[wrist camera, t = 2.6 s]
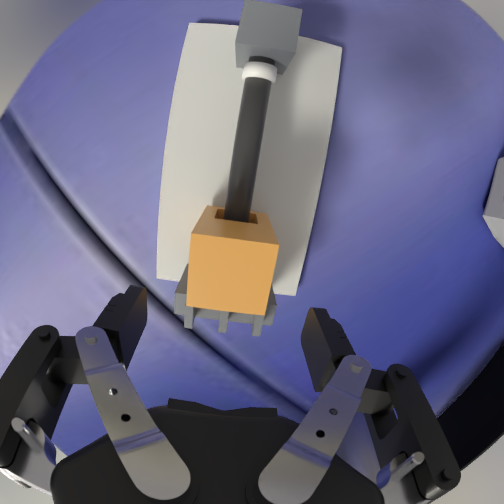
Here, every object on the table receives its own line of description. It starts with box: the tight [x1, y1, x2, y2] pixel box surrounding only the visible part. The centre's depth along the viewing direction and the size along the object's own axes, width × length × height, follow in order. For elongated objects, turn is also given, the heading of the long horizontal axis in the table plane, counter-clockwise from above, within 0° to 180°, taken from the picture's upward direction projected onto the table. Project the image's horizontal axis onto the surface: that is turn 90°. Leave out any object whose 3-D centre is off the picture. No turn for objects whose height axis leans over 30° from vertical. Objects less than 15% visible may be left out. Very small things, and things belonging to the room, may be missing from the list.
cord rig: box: [157, 0, 342, 336], centre depth 19 cm, size 25×14×8 cm, turn 171°
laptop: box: [437, 343, 504, 471], centre depth 34 cm, size 33×38×19 cm
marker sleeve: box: [186, 205, 279, 316], centre depth 20 cm, size 5×5×8 cm
